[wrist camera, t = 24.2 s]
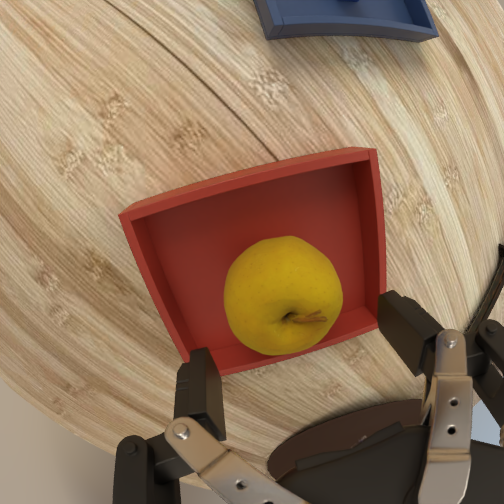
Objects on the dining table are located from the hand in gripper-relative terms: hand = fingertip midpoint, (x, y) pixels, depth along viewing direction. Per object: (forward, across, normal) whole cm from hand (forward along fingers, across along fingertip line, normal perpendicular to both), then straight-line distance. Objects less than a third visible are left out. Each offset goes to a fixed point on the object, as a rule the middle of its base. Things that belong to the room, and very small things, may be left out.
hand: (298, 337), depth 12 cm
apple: (+8, 0, 0) cm, 8 cm away
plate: (+8, -7, +35) cm, 37 cm away
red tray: (+8, 0, 0) cm, 8 cm away
